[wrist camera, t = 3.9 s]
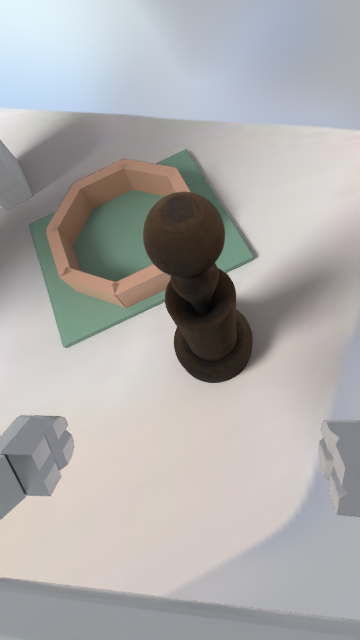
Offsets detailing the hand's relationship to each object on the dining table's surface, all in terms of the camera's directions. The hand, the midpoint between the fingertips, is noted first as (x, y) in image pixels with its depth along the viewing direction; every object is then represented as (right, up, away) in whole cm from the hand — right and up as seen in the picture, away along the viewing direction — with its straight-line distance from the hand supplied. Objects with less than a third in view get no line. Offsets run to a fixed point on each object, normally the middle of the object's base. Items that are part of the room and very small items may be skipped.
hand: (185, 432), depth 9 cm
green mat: (-5, +12, +22) cm, 26 cm away
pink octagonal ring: (-5, +12, +22) cm, 26 cm away
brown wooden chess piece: (+3, +1, +17) cm, 17 cm away
